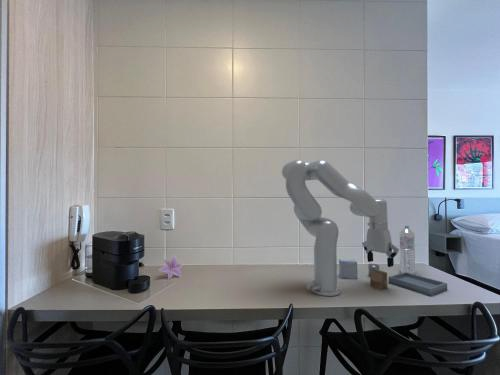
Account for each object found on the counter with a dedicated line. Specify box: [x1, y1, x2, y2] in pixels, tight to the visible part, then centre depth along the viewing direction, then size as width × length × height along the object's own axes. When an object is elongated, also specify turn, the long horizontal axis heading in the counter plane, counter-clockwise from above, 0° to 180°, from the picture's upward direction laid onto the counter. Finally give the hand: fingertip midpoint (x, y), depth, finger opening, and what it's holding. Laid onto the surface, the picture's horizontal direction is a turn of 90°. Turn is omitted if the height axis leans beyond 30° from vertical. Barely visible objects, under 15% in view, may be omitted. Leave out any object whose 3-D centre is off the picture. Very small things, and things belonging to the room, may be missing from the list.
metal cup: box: [367, 263, 380, 278], centre depth 129 cm, size 5×5×6 cm
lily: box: [158, 254, 184, 280], centre depth 131 cm, size 12×12×10 cm
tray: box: [388, 272, 448, 297], centre depth 116 cm, size 14×18×3 cm
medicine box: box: [338, 258, 358, 280], centre depth 129 cm, size 8×4×9 cm, turn 84°
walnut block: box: [369, 269, 388, 291], centre depth 115 cm, size 5×5×7 cm
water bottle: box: [399, 225, 416, 275], centre depth 135 cm, size 7×7×25 cm
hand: (380, 263), depth 115 cm, fingers open, 9 cm apart
